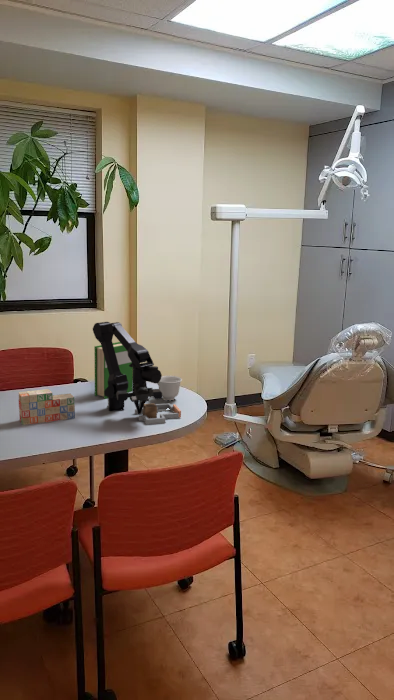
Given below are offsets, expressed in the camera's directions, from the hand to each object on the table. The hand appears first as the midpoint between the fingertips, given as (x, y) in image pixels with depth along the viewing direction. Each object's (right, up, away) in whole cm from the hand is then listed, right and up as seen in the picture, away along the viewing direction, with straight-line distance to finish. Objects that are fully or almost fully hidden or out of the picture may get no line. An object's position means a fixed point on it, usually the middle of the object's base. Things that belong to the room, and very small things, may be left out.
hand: (139, 414), depth 231 cm
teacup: (+10, +4, +27) cm, 29 cm away
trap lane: (+8, -1, +3) cm, 8 cm away
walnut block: (+4, -1, +2) cm, 5 cm away
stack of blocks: (-37, -2, -6) cm, 38 cm away
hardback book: (-16, +6, +32) cm, 37 cm away
